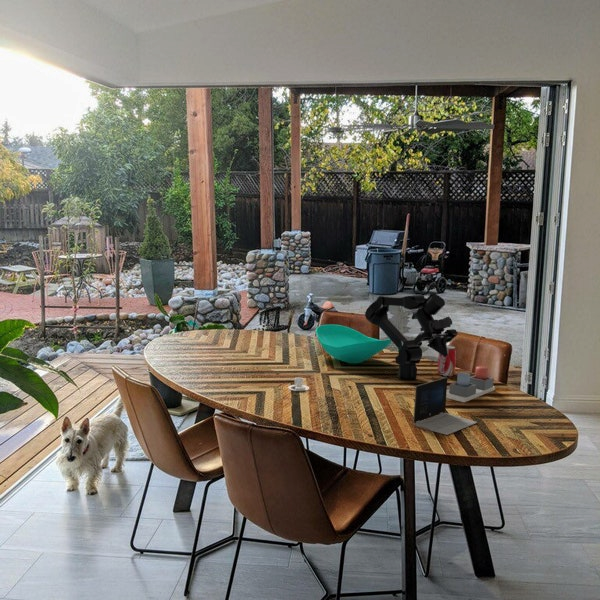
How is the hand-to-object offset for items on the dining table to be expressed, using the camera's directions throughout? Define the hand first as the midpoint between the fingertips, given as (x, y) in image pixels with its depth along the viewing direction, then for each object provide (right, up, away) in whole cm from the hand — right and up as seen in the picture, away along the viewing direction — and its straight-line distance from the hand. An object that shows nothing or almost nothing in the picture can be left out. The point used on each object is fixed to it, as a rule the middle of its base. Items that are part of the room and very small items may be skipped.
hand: (446, 356), depth 242 cm
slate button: (+5, -11, -6) cm, 13 cm away
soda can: (+6, -10, +26) cm, 29 cm away
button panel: (+8, -14, +1) cm, 16 cm away
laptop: (-8, -19, -36) cm, 41 cm away
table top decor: (-32, -6, +44) cm, 54 cm away
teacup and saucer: (-58, -13, -3) cm, 59 cm away
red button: (+14, -10, +4) cm, 18 cm away
